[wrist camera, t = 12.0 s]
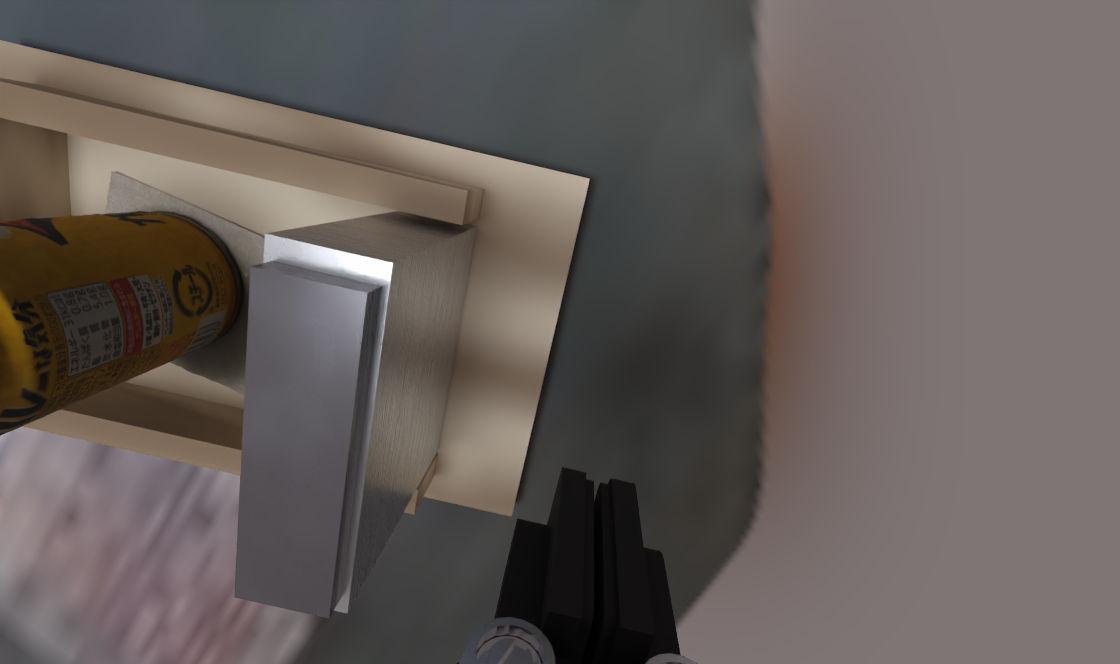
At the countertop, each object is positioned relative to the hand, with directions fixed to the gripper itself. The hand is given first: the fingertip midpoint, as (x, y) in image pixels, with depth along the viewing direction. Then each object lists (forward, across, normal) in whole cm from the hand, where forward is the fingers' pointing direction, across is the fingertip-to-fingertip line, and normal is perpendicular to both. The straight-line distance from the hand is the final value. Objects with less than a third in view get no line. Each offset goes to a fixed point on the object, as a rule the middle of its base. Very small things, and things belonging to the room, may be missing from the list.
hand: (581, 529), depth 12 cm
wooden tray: (+12, +14, +1) cm, 18 cm away
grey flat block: (+11, +7, +1) cm, 13 cm away
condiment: (+12, +17, +1) cm, 21 cm away
